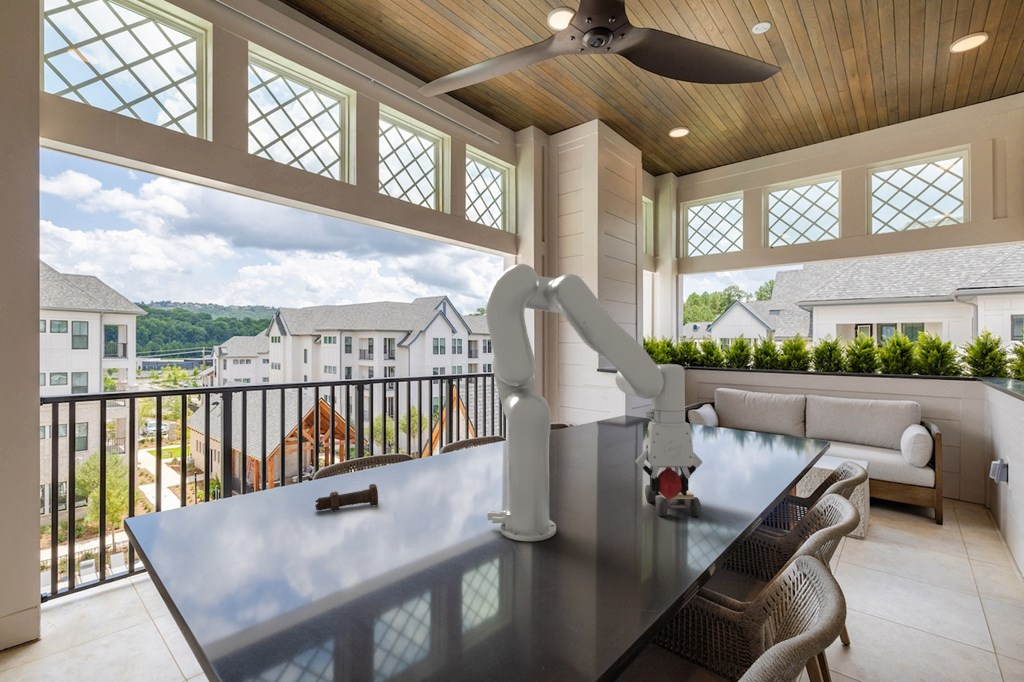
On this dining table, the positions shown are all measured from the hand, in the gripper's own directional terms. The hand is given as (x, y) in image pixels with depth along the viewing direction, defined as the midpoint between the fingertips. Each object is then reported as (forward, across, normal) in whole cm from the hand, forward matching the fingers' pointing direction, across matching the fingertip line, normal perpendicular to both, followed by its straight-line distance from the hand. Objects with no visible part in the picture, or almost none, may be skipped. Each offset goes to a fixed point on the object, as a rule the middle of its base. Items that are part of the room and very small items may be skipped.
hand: (669, 493), depth 111 cm
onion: (+2, 0, 0) cm, 2 cm away
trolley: (+7, +4, +10) cm, 13 cm away
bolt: (+7, -80, +10) cm, 81 cm away
